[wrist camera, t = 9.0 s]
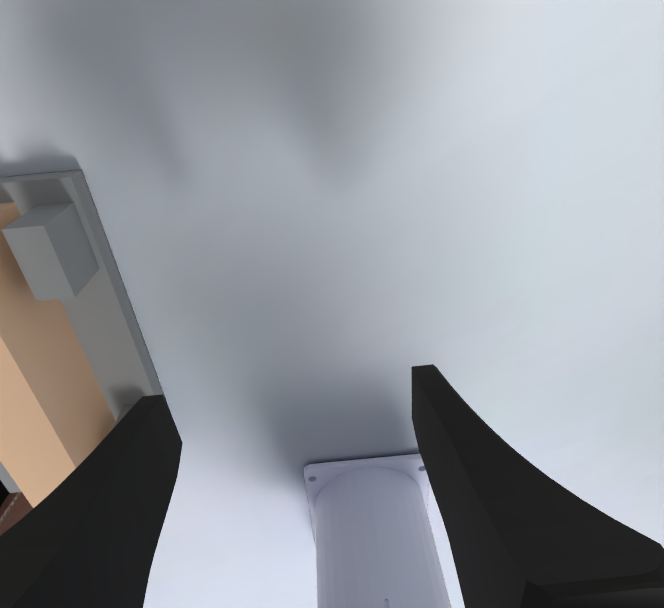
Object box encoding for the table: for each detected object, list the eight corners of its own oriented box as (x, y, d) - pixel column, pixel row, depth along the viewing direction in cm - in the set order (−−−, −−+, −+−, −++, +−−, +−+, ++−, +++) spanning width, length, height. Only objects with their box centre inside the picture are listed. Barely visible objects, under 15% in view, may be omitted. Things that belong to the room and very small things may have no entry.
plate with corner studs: (180, 439, 27) (164, 490, 24) (45, 452, 27) (13, 505, 24) (81, 169, 18) (38, 197, 15) (-115, 187, 18) (-196, 218, 15)
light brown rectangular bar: (125, 442, 25) (98, 507, 22) (72, 447, 25) (36, 512, 22) (14, 202, 18) (-53, 243, 15) (-61, 208, 18) (-146, 251, 15)
